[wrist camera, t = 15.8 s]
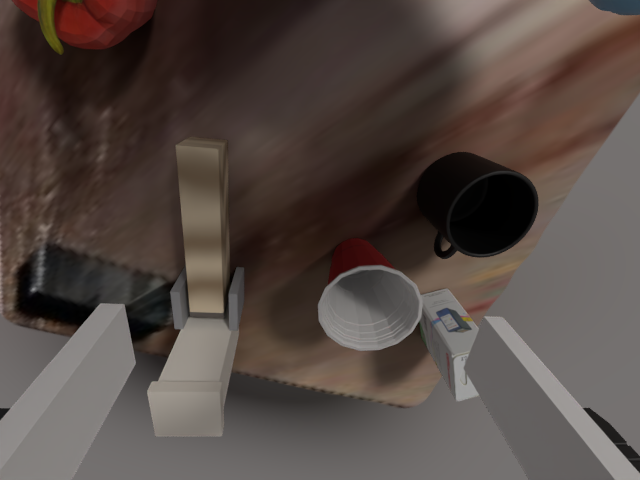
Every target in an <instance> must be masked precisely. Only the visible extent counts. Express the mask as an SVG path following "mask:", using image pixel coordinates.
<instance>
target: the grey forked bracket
mask: <svg viewBox="0 0 640 480" xmlns="http://www.w3.org/2000/svg"><path fill="white" fill-rule="evenodd" d="M170 294H171V302H172V311H173V319H174V328H175V329H181V331H180V333H179V335H178V337H177V340H176V342H175V344H174V346H173V349H172V351H171V353H170V355H169V357H168V360H167V362H166V365H165V366H164V369H163V371H162V373H161V376H160V378H159V380H158V381H152V382H151V385H150V386H149V389H148V391H147V394H148V398H149V404H150V410H151V415H152V421H153V426H154V432H155V436H156V437H169V436H171V437H174V436H176V437H177V436H222V433H223V428H224V415H223V414H224V412H223V407H224V402H225V398H226V393H227V389H228V384H229V379H230V374H231V370H232V365H233V360H234V355H235V351H236V346H237V341H238V337H239V323H240V318H241V313H242V309H243V304H244V268H243V267H236V270H235V274H234V277H233V281H232V284H231V287H230V291H229V301H228V305H227V308H226V312H225V315H224V318H201V317H190V307H189V296H188V284H187V272H186V265H185V267H184V268H183V270H182V272H181V274H180V275H179V277H178V279H177V281H176V282H175V284H174V286H173V288H172V289H171V291H170Z"/></svg>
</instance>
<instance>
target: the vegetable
mask: <svg viewBox="0 0 640 480" xmlns="http://www.w3.org/2000/svg"><path fill="white" fill-rule="evenodd" d="M12 1H13V2H14V4H15V5H16V6H17V7H18V8H19V9H21V10H22V11H23V12H24V13H26V14H27V15H28V16H30V17H32V18H33V19H35V20H37V21H38V22H40V26H41V29H42V32H43V34H44V37H45V38H46V40H47V42H48V43H49V45H50V46H51V47H52V49H53V50H54V51H56V52H57V53H58V54H61V55H62V54H63V53H64V49H63V47H62V44H61V42H60V40H59V38H60V39H61V40H63V41H64V42H66V43H67V44H69V45H71V46H75V47H79V48H83V49H106V48H109V47H112V46H114V45H116V44H118V43H120V42H121V41H123V40H124V39H125V38H126V37H127V36H128V35H129V34H130V33H131V32H133V31H135V30H136V29H138V28H140V27H141V26H142V25H143V24H145V23H146V22H147V21H148V20H149V19H151V18H152V15H153V12H154V10H155V8H156V5H157V0H12Z"/></svg>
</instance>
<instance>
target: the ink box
mask: <svg viewBox="0 0 640 480" xmlns="http://www.w3.org/2000/svg"><path fill="white" fill-rule="evenodd" d="M421 297H422V300H423V305H422V315H421V319H420V320H419V324H420V331H421V338H422V339H423V341H424V343H425V345H426V347H427V349H428V351H429V352H430V354H431V356H432V358H433V360H434V362H435V363H436V365H437V367H438V369H439V371H440V373H441V374H442V376H443V378H444V380H445V382H446V384H447V386H448V387H449V389H450V391H451V393H452V395H453V397H454V398H455V400H456V401H461V400H465V399H470V398H473V397H478V396H479V394H478V392H477V391H476V389H475V387H474V386H473V384H472V382H471V380H470V379H469V377H468V375H467V374H466V372H465V370H464V369H463V368H464V365H465V363H466V360H467V358H468V355H469V353H470V350H471V348H472V345H473V343H474V340H475V338H476V335H477V333H478V330H479V328H478V327H477V326H476V324H475V323H474V322H473V321H472V319H471V318H470V317H469V315H468V314H467V313H466V311H465V310H464V309H463V307H462V306H461V305H460V304H459V302H458V301H457V300H456V298H455V297H454V296H453V295H452V293H451V292H450V291H449V289H442V290H438V291H434V292H431V293H427V294H423V295H421Z"/></svg>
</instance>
